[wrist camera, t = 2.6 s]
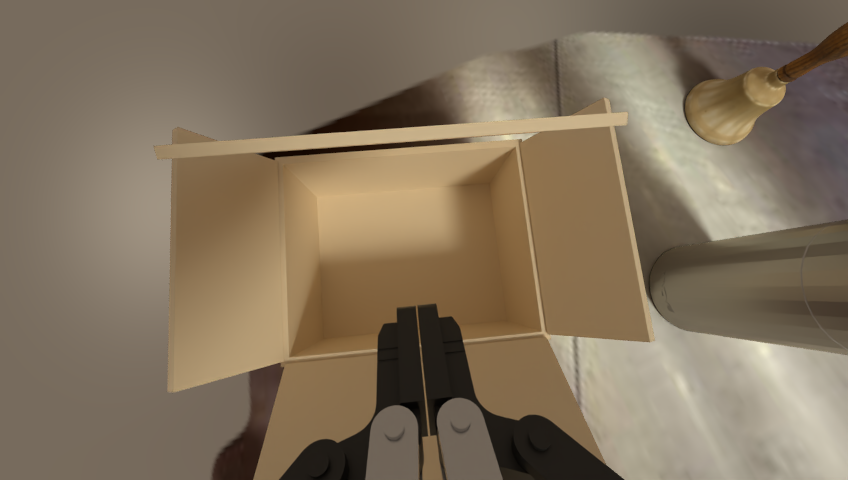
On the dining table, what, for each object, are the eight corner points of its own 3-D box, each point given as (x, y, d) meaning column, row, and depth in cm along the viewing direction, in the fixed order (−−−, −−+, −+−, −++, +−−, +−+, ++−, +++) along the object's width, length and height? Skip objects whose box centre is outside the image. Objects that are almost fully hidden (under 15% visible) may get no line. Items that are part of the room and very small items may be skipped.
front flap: (513, 134, 27) (513, 126, 27) (626, 124, 13) (628, 109, 13) (283, 151, 26) (281, 143, 26) (157, 159, 12) (152, 143, 12)
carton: (525, 176, 37) (654, 47, 17) (561, 423, 33) (779, 620, 14) (277, 196, 36) (110, 81, 16) (285, 455, 32) (78, 724, 12)
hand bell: (766, 121, 39) (1003, 8, 24) (716, 158, 38) (928, 67, 23) (719, 68, 40) (918, -75, 24) (669, 104, 39) (842, -21, 23)
